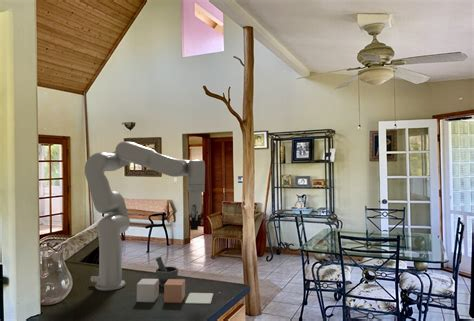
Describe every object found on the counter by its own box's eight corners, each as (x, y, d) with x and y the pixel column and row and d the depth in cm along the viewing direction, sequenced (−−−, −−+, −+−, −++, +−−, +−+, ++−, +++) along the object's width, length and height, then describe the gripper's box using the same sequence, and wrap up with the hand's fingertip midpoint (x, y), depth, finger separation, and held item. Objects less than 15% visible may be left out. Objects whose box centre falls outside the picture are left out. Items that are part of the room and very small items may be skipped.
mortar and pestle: (181, 283, 168) (182, 257, 169) (169, 289, 160) (169, 261, 160) (162, 279, 174) (162, 254, 174) (149, 285, 165) (149, 258, 166)
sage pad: (185, 303, 144) (185, 302, 144) (189, 293, 155) (189, 292, 155) (210, 304, 144) (210, 303, 144) (213, 294, 155) (213, 293, 155)
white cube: (136, 301, 146) (136, 284, 146) (142, 295, 153) (142, 278, 153) (154, 302, 145) (154, 284, 146) (158, 295, 152) (158, 278, 153)
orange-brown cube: (164, 302, 145) (164, 284, 145) (168, 295, 152) (168, 279, 152) (181, 302, 145) (181, 284, 145) (185, 296, 152) (185, 279, 152)
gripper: (190, 186, 168) (189, 224, 168) (184, 189, 150) (183, 231, 150) (206, 187, 168) (206, 224, 167) (202, 189, 150) (201, 231, 150)
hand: (195, 227), depth 159 cm, fingers open, 9 cm apart
